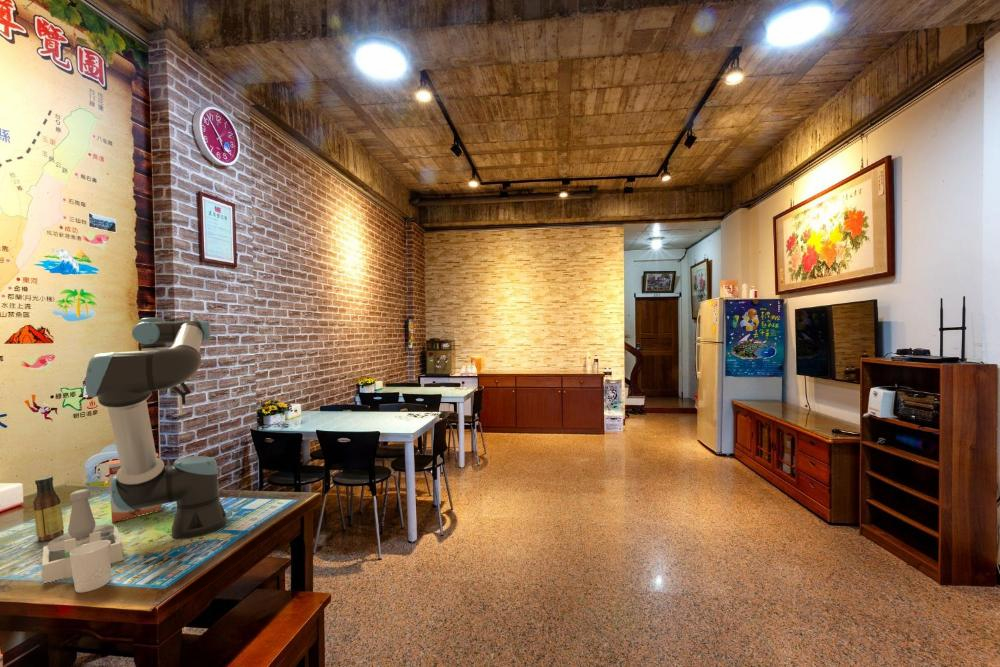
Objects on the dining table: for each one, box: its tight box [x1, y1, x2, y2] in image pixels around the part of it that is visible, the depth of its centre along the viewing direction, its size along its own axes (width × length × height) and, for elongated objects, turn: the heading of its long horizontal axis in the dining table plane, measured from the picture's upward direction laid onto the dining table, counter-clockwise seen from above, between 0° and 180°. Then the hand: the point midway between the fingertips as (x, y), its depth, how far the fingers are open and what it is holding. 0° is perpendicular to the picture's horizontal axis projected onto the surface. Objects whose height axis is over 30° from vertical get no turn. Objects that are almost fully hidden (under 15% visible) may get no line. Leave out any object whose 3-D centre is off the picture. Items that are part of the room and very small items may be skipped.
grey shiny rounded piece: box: [46, 524, 115, 552], centre depth 127 cm, size 18×14×6 cm
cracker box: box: [108, 452, 162, 523], centre depth 161 cm, size 14×6×21 cm, turn 129°
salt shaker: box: [67, 488, 96, 539], centre depth 128 cm, size 6×6×13 cm
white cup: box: [69, 540, 112, 593], centre depth 115 cm, size 8×8×10 cm
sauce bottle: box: [32, 475, 65, 542], centre depth 145 cm, size 7×6×20 cm
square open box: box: [41, 526, 124, 585], centre depth 127 cm, size 17×16×10 cm
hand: (158, 416), depth 164 cm, fingers open, 13 cm apart
